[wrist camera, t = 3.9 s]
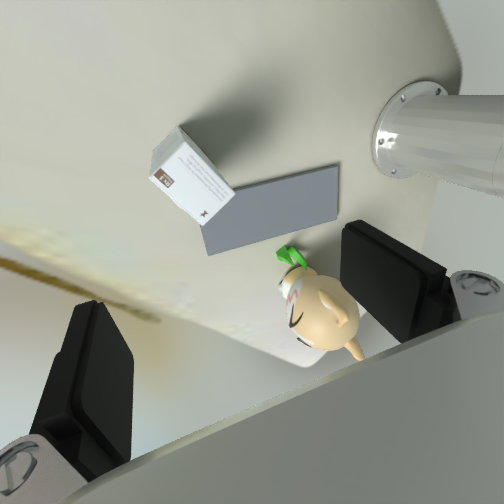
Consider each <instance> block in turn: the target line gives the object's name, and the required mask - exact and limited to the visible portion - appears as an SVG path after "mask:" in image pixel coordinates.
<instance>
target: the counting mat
mask: <svg viewBox="0 0 504 504" xmlns="http://www.w3.org/2000/svg"><path fill="white" fill-rule="evenodd" d="M233 191H234V192H235V193H236V194H235V195H234V196H233V197H232V198H231V199H230V200H229V201H228V202H227V203H226V204H225V205H224V206H223V207H222V208H221V209H220V210H219V211H218V212H217V213H216V214H215V215H214V216H213V217H212V218H211V219H210V220H209V221H208V222H207V223H206V224H205V225H204V226H202V225H201V224H200V227H201V231H202V234H203V238H204V242H205V246H206V250H207V253H208V256H210V255H214V254H217V253H221V252H224V251H228V250H231V249H235V248H238V247H242V246H245V245H249V244H252V243H256V242H259V241H263V240H266V239H270V238H273V237H277V236H280V235H284V234H287V233H291V232H294V231H298V230H301V229H305V228H308V227H312V226H315V225H319V224H322V223H326V222H329V221H333V220H336V219H337V202H338V166H336V165H331V166H327V167H323V168H319V169H315V170H311V171H307V172H303V173H298V174H294V175H290V176H286V177H282V178H278V179H274V180H270V181H266V182H261V183H257V184H253V185H249V186H245V187H241V188H237V189H233Z"/></svg>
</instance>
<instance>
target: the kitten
mask: <svg viewBox="0 0 504 504" xmlns="http://www.w3.org/2000/svg"><path fill="white" fill-rule="evenodd" d="M276 254H277V257H278V259H279V260H280V261H285V262H287V263H289V264H290V265H292V266H294V264H293V262H292V259H291V257H290V256H292V257H293V258H294V259H295V260H296V261H297V262H298V263H300V264H301V265H302V266H301V267H298V268H296V269H294V270H292V271H291V272H289V273H288V274H287V275H286V276H285V277H284V279H283V281H282V283H281V284H279V285H278V288H279V290H280V291H281V292H282V296H283V297H284V298H285V299H286V316H287V320H288V322H289V326H290V328H292V330H293V331H294V333H295V334H296V335H297V336H298V338H297V339H298V340H299V341H301V342H302V343H304V344H305V345H307V346H310V347H313V348H316V349H319V350H324V351H332V350H337V349H340V348H342V347H344V346H345V347H346V348H347V349H348V350H349V351H350V352H351V353H352V354H353V356H354V357H355V358H356V359H357V360H359V361H361V360H364V359H365V358H364V354H363V351H362V349H361V346H360V344H359V342H358V341H357V340H356V339H355V338H354V336H355V335H356V333H357V331H358V327H359V322H360V314H359V309H358V305H357V303H356V300H355V299H354V298H353V297H352V296H351V295H350V294H349V293H348V292H347V291H346V290H345V289H344V288H343V287H342V285H341V282H340V281H339V280H337V279H335V278H333V277H330V276H325V275H318V274H317V273H316V272H315V271H314V270H313V269H312V268H310V267H307V261H306V259H305V258H304V257H303V256H302V254H301V253H300V252H299V251H298V250H297V249H296V248H294V247H290V248H289V249H288V250H286V247H285V245H284V246H283V247H282V248H281V249H280V250H279V251H277V252H276Z"/></svg>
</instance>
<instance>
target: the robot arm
mask: <svg viewBox="0 0 504 504" xmlns="http://www.w3.org/2000/svg"><path fill="white" fill-rule="evenodd" d="M372 153H373V158H374V161H375V163H376V166H377V167H378V169H379V170H380V171H381V172H382V173H384V174H385V175H387V176H390V177H393V178H397V179H401V178H407V177H411V176H413V175H415V174H417V173H419V174H422V175H426V176H429V177H433V178H436V179H439V180H443V181H446V182H450V183H453V184H457V185H460V186H463V187H467V188H470V189H474V190H477V191H480V192H484V193H487V194H491V195H494V196H497V197H501V198H504V95H448V93H447V91H446V90H445V89H444V88H443V86H441V85H439V84H438V83H435V82H431V81H421V82H416V83H412V84H410V85H408V86H406V87H404V88H403V89H402V90H400V91H399V92H398V93H397V94H395V95H394V96H393V97H392V98H391V100H390V101H389V102H388V103H387V105H386V106H385V108H384V109H383V111H382V113H381V114H380V116H379V119H378V121H377V123H376V126H375V130H374V134H373V140H372ZM446 271H447V269H446V268H445V267H443V266H441V265H439V264H438V263H436V262H434V261H432V260H430V259H429V258H427V257H425V256H424V255H422V254H420V253H418V252H417V251H415V250H413V249H411V248H410V247H408V246H406V245H404V244H403V243H401V242H399V241H397V240H396V239H394V238H392V237H390V236H389V235H387V234H385V233H383V232H382V231H380V230H378V229H376V228H375V227H373V226H371V225H369V224H368V223H366V222H364V221H363V220H356V221H353V222H350V223H347V224H346V225H345V228H343V229H342V240H341V267H340V282H341V285H342V287H343V288H344V289H345V290H346V291H347V292H348V293H349V294H350V295H351V296H352V297H353V298H354V299H355V300H356V301H357V302H358V303H359V304H360V305H362V306H363V307H364V308H365V309H366V310H367V311H368V312H369V313H370V314H371V315H372V316H373V317H374V318H375V319H376V320H377V321H378V322H379V323H380V324H381V325H382V326H383V327H385V328H386V329H387V330H388V331H389V332H390V333H391V334H392V335H393V336H394V337H395V338H396V339H397V340H398V341H399V342H400V343H402V344H400V345H397V346H395V347H393V348H390V349H388V350H385V351H383V352H381V353H378V354H376V355H373V356H371V357H369V358H366V359H364V360H361V361H359V362H357V363H354V364H352V365H350V366H347V367H345V368H343V369H340V370H338V371H335V372H333V373H331V374H328V375H326V376H324V377H321V378H319V379H317V380H314V381H312V382H310V383H307V384H305V385H302V386H300V387H298V388H295V389H293V390H291V391H288V392H286V393H284V394H281V395H279V396H277V397H275V398H272V399H270V400H267V401H265V402H263V403H260V404H258V405H256V406H253V407H251V408H249V409H246V410H244V411H242V412H240V413H237V414H235V415H233V416H230V417H228V418H226V419H223V420H221V421H219V422H216V423H214V424H212V425H209V426H207V427H205V428H203V429H201V430H198V431H195V432H193V433H191V434H189V435H186V436H184V437H182V438H180V439H177V440H175V441H173V442H171V443H169V444H166V445H164V446H162V447H160V448H158V449H155V450H153V451H151V452H149V453H146V454H144V455H142V456H140V457H138V458H135V459H133V460H131V461H130V459H131V437H132V408H133V407H132V406H133V377H134V376H133V375H134V359H133V355H132V353H131V351H130V349H129V347H128V345H127V344H126V342H125V340H124V338H123V337H122V335H121V333H120V331H119V329H118V327H117V326H116V324H115V322H114V320H113V319H112V317H111V315H110V313H109V312H108V310H107V308H106V306H105V304H104V303H103V302H100V303H98V302H97V301H96V300H92V301H89V302H85V303H82V304H79V305H76V306H75V308H74V310H73V314H72V317H71V320H70V323H69V326H68V329H67V332H66V335H65V338H64V342H63V345H62V348H61V351H60V352H59V353H57V354H56V356H55V358H54V361H53V364H52V367H51V370H50V373H49V376H48V379H47V382H46V385H45V388H44V391H43V394H42V397H41V400H40V403H39V406H38V409H37V412H36V415H35V417H34V420H33V424H32V426H31V429H30V432H29V435H26V436H23V437H20V438H19V439H17V440H15V441H13V442H11V443H9V444H8V445H7V446H5V447H4V448H3V449H1V450H0V504H504V284H503V283H502V282H501V281H500V280H498V279H497V278H495V277H493V276H491V275H489V274H486V273H482V272H478V271H472V270H463V271H457V272H455V273H453V274H452V275H451V277H450V278H449V277H447V276H446V275H445V274H446Z"/></svg>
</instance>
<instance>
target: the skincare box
mask: <svg viewBox="0 0 504 504" xmlns="http://www.w3.org/2000/svg"><path fill="white" fill-rule="evenodd" d="M149 179H150V180H151V181H152V182H154V183H155V184H156V185H157V186H158V187H159V188H160V189H161V190H162V191H164V192H165V193H166V194H167V195H168V196H169V197H170V198H171V199H172V200H173V201H174V203H176V204H177V205H178V206H179V207H180V208H181V209H183V210H185V211H186V212H187V213H188V214H189V215H190V216H191V217H193V218H194V219H195V220H196V221H197V222H198V223H199V224H201V225H202V226H204V225H205V224H206V223H207V222H208V221H209V220H210V219H211V218H212V217H213V216H214V215H215V214H216V213H217V212H218V211H219V210H220V209H221V208H222V207H223V206H224V205H225V204H226V203H227V202H228V201H229V200H230V199H231V198H232V197H233V196H234V195H235V194H236V193H235V192H234V191H233V190H232V188H231V187H230V186H229V184H228V183H227V182H226V180H225V179H224V178H223V176H222V175H221V174H220V173H219V171H218V170H217V169H216V167H215V166H214V165H213V164H212V162H211V161H210V160H209V159H208V157H207V156H206V155H205V154H204V153H203V151H202V150H201V149H200V148H199V147H198V146H197V145H196V144H195V143H194V142H193V140H192V139H191V138H190V137H189V136H188V135H187V134H186V133H185V132H184V131H183V130H182V129H181V128H180V127H179V126H177V127H176V128H175V129H174V130H173V131H172V132H171V134H170V135H169V136H168V137H166V138H165V139H164V140H163V141H162V142H161V143H160V144H159V145H158V146H157V147H156V148H155V149H154V150H153V152H152V160H151V168H150V174H149Z"/></svg>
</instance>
